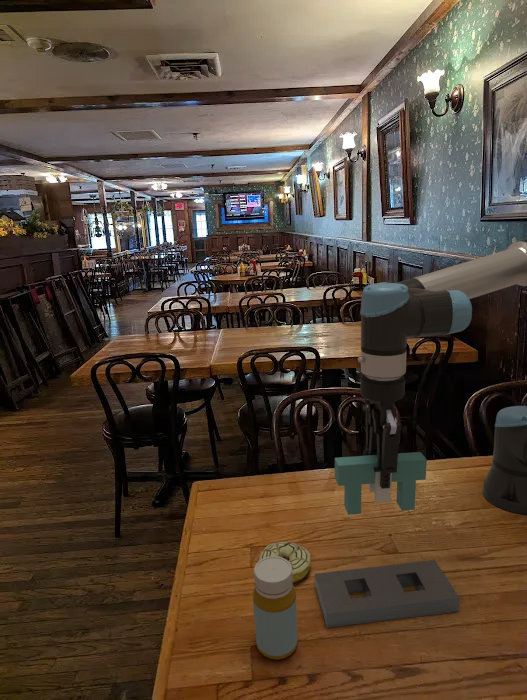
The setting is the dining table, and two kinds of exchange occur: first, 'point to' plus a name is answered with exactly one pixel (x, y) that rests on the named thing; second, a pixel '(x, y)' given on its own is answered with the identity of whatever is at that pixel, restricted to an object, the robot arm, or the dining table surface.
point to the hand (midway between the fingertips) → (379, 495)
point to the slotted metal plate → (385, 593)
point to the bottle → (275, 608)
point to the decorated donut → (290, 557)
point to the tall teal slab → (362, 472)
